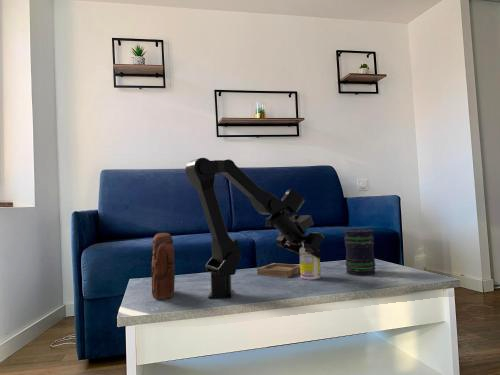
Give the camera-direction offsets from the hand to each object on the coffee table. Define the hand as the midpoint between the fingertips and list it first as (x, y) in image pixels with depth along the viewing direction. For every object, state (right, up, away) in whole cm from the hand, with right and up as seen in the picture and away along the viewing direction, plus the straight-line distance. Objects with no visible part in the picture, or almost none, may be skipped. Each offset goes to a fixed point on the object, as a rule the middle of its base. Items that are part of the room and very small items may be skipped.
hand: (312, 256), depth 116 cm
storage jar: (+17, -7, +4) cm, 19 cm away
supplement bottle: (-1, -7, -1) cm, 7 cm away
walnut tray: (-10, -8, +9) cm, 15 cm away
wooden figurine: (-46, -8, -16) cm, 50 cm away
